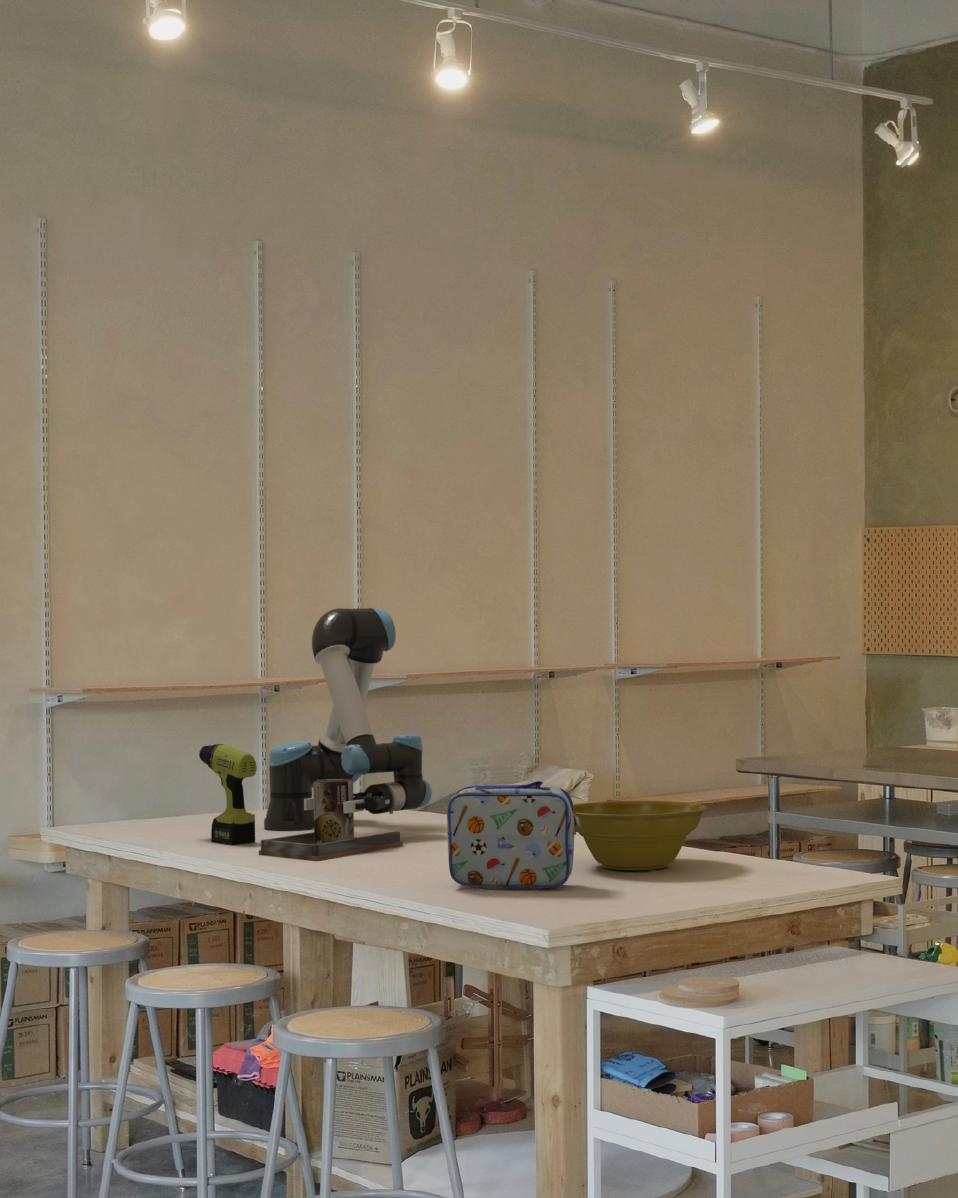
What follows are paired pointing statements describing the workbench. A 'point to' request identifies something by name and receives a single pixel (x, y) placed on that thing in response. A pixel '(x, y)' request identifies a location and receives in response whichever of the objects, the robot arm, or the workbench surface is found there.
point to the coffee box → (332, 810)
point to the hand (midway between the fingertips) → (324, 806)
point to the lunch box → (511, 836)
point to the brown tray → (326, 846)
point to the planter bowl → (636, 831)
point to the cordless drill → (231, 793)
